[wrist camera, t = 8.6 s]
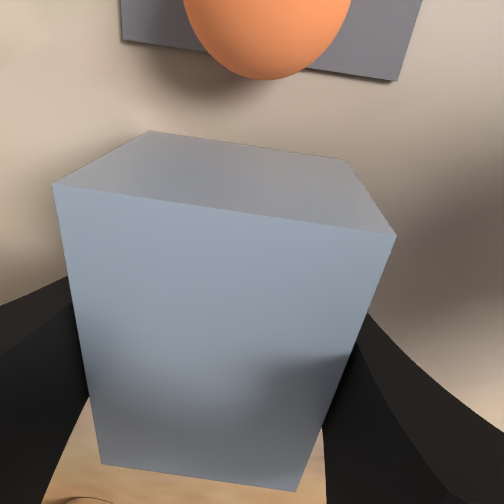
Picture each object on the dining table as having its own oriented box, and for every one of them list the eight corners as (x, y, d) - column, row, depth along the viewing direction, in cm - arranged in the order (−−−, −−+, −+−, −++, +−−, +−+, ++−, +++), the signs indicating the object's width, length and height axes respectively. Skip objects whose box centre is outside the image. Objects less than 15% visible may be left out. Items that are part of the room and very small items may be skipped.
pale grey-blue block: (148, 130, 10) (51, 183, 6) (346, 160, 10) (397, 235, 6) (153, 343, 14) (101, 464, 10) (290, 364, 14) (295, 492, 10)
